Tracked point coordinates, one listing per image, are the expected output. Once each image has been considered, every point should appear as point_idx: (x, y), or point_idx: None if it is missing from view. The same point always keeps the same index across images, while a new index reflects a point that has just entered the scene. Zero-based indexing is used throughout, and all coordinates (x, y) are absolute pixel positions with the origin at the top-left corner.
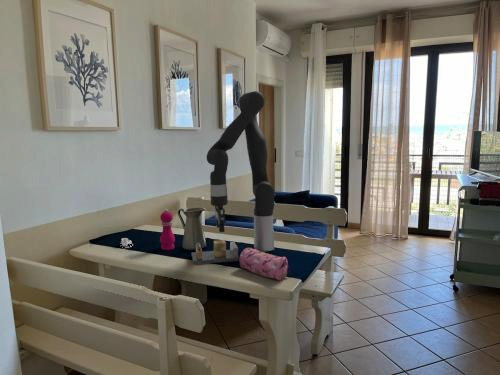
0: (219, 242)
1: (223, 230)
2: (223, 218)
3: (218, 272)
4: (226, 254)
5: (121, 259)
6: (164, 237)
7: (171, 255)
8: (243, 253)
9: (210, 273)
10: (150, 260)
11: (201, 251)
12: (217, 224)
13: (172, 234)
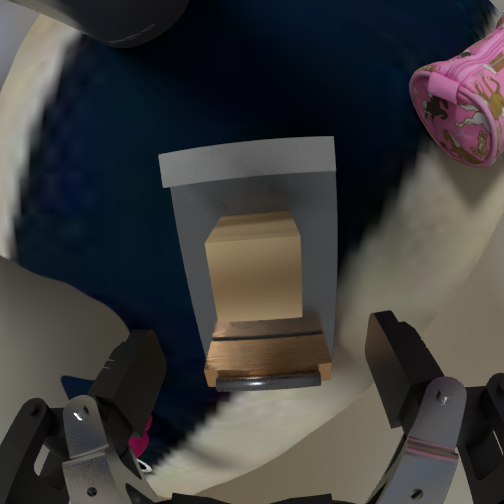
0: (271, 284)
1: (408, 327)
2: (451, 454)
3: (443, 255)
4: (262, 207)
5: (235, 475)
6: (140, 453)
7: (206, 411)
8: (500, 149)
9: (440, 285)
10: (252, 445)
11: (331, 362)
12: (155, 386)
13: None
